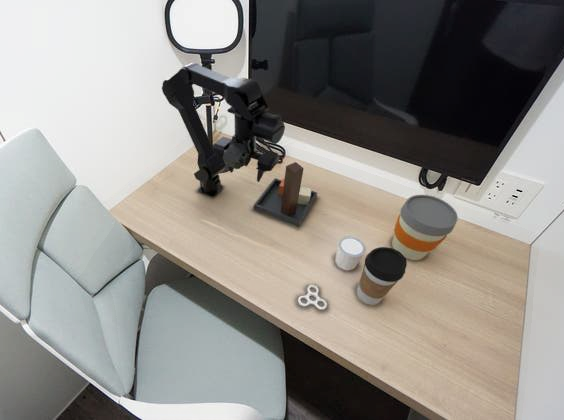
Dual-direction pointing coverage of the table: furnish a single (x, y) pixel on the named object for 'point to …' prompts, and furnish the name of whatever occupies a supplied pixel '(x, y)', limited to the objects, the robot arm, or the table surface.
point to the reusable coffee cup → (422, 225)
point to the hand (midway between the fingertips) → (245, 176)
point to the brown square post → (291, 188)
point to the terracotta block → (281, 188)
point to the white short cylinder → (349, 252)
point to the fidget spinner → (311, 300)
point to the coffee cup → (380, 274)
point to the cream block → (304, 195)
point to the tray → (272, 204)
